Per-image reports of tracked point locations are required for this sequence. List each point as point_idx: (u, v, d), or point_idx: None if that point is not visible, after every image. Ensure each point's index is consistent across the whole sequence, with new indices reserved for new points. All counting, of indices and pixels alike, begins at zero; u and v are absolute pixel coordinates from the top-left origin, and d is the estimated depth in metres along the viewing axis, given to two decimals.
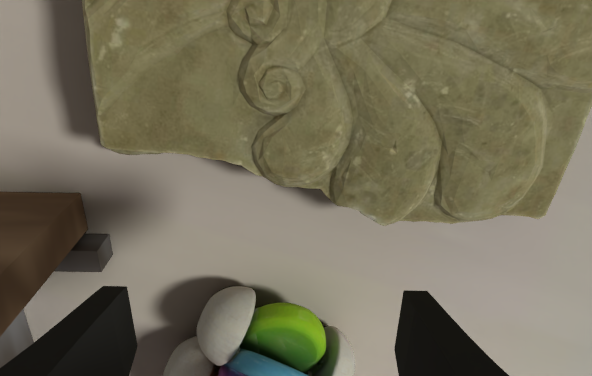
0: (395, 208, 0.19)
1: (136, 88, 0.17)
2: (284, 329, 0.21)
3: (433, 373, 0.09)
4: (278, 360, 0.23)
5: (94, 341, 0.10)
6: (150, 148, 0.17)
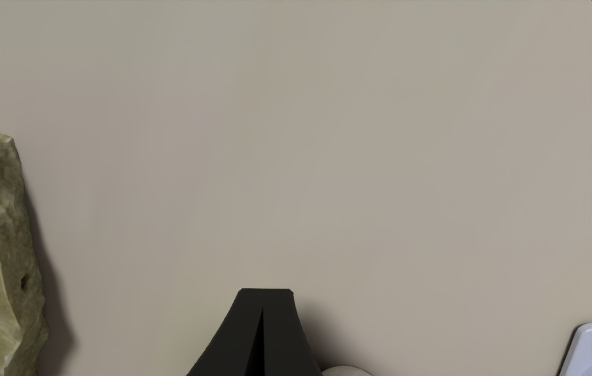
0: None
1: None
2: None
3: None
4: None
5: (257, 343, 0.10)
6: None
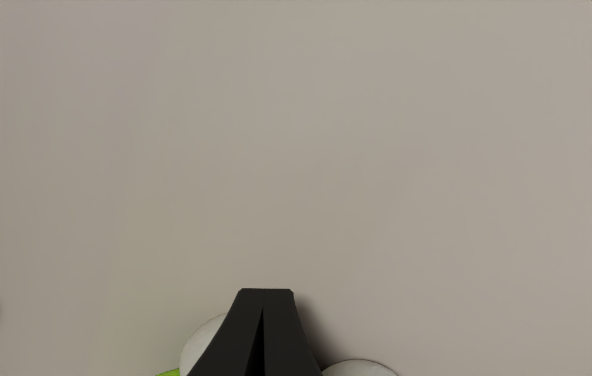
0: None
1: None
2: None
3: None
4: None
5: (257, 343, 0.10)
6: None
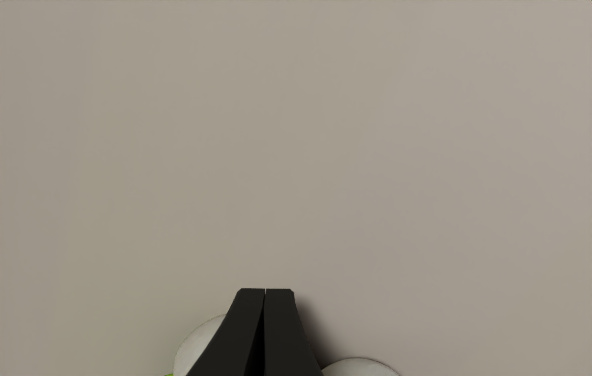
0: None
1: None
2: None
3: None
4: None
5: (256, 343, 0.10)
6: None
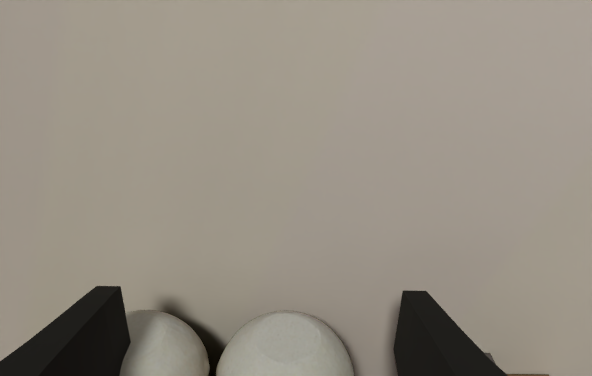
0: None
1: None
2: None
3: (432, 373, 0.09)
4: None
5: (87, 341, 0.10)
6: None
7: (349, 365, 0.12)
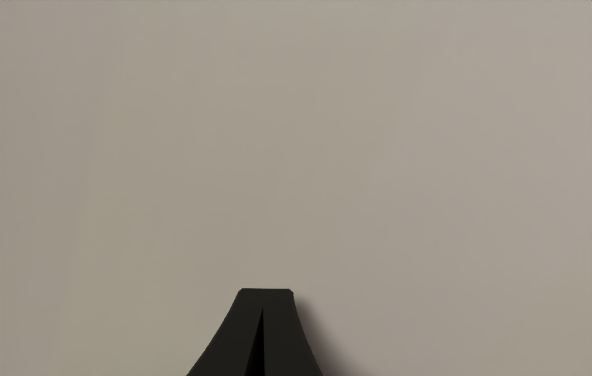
0: None
1: None
2: None
3: None
4: None
5: (257, 344, 0.10)
6: None
7: None
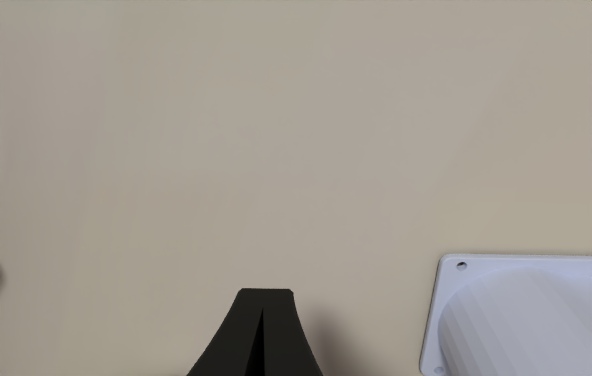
0: None
1: None
2: None
3: None
4: None
5: (257, 344, 0.10)
6: None
7: None
